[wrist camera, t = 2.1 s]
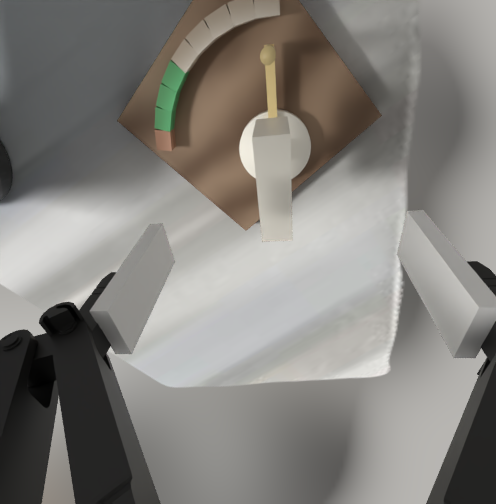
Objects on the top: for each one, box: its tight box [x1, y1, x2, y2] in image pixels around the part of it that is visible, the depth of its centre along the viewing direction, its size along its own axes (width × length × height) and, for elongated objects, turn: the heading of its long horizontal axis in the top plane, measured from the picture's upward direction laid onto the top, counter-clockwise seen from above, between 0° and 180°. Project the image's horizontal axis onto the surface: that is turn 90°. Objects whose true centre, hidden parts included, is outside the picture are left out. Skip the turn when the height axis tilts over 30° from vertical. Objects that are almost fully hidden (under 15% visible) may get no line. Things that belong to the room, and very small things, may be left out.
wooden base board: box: [117, 0, 382, 230], centre depth 28 cm, size 18×18×4 cm
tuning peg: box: [239, 44, 311, 242], centre depth 24 cm, size 7×12×11 cm, turn 6°
